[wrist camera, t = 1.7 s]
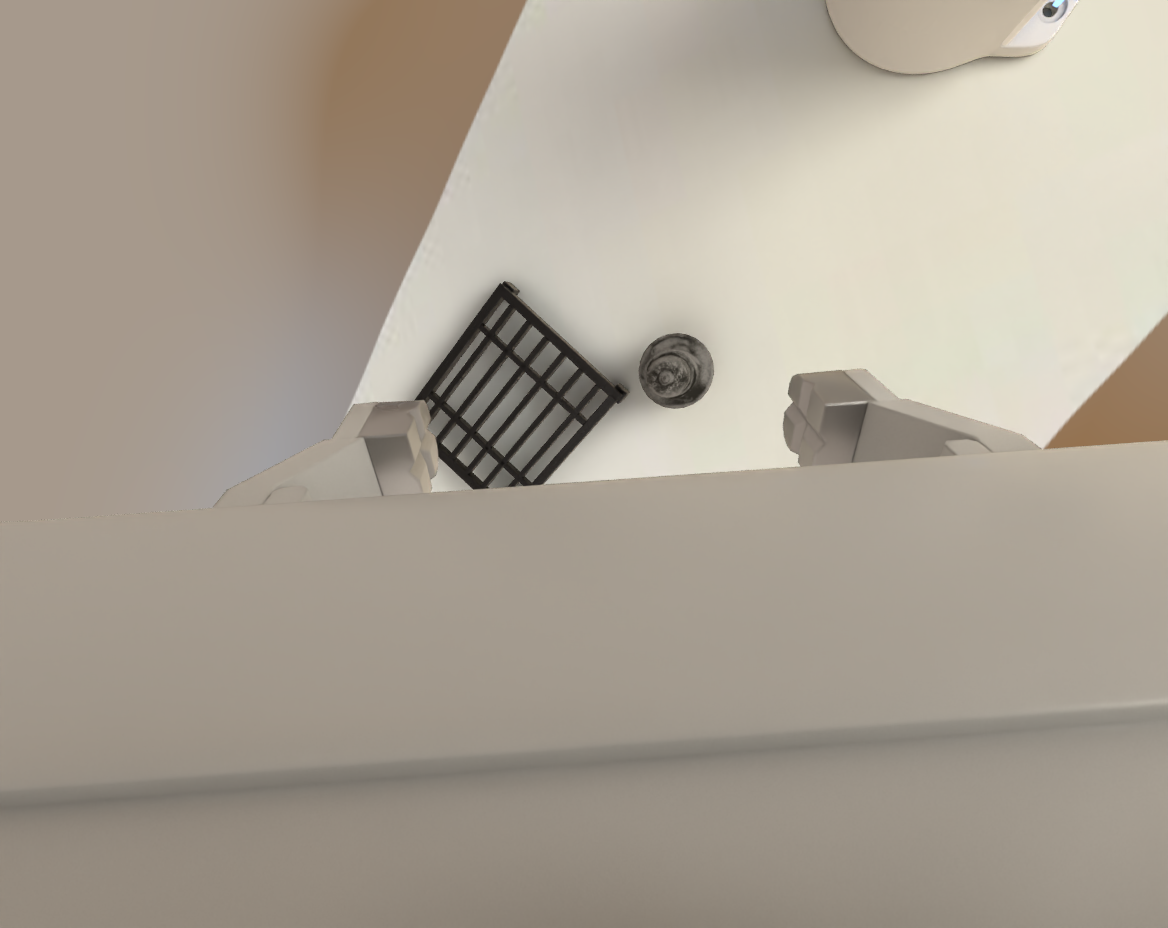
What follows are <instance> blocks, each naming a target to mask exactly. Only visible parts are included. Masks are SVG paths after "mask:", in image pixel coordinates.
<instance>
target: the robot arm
mask: <svg viewBox="0 0 1168 928" xmlns="http://www.w3.org/2000/svg"><path fill="white" fill-rule="evenodd" d="M1078 2H1079V0H826V5H827V9H828V12H829V15H830V18H831V20H832V23H833V25H834V27H835V29H836V31H837V32H838V34H839V36H840V37H841V38H842V40H843V41H844V42H845V44H846V45H847V46H848V47H849V48H850V49H851V50H852V51H853V52H854V53H855V54H857V55H858V56H859V57H860V58H862V59H863V60H865V61H866V62H868V63H870V64H872V65H874V66H876V67H879V68H881V69H884V70H887V71H891V72H896V73H903V74H926V73H933V72H939V71H943V70H947V69H950V68H954V67H957V66H959V65H962V64H965V63H967V62H970V61H973V60H976V59H979V58H983V57H987V56H998V57H1022V56H1029V55H1032V54H1035V53H1037V52H1039V51H1041V50H1042V49H1043V48H1044V47H1045V46H1046V45H1047V44H1048V43H1049V42H1050V41H1051V39H1052V38H1053V37H1054V36H1055V34H1056V33H1057V32H1058V30H1059V29H1060V27H1061V26H1062V24H1063V23H1064V22H1065V20H1066V19H1067V17H1068V16H1069V15H1070V13H1071V12H1072V10H1073V9H1074V7H1075V6H1076V5H1077V3H1078ZM1043 8H1049V9H1051V11H1052V17H1045V16H1044V15H1043V12H1042V11H1043ZM788 395H789V396H790V398H791V400H792V401H793V403H792V404H791V405H790V406H789V407H788V408H787V410H786V411H785V413H784V421H783V431H784V438H785V441H786V444H787V446H788V448H789V449H790V451H792V452H794V453H796V454H798V455H799V458H798V463H799V464H800V466H801V467H787V468H773V469H759V470H745V471H730V472H716V473H702V474H688V475H674V476H659V477H645V478H631V479H617V480H603V481H588V482H574V483H560V484H546V485H532V486H518V487H503V488H489V489H475V490H461V491H447V492H432V493H431V490H432V485H431V481H430V480H431V479H432V478H433V477H435V476H436V473H437V469H438V448H437V443H436V438H435V436H434V435H433V434H432V433H431V432H430V431H429V430H428V429H427V428H428V425H429V423H430V420H431V417H430V413H429V410H428V406H427V404H426V402H425V401H424V400H418V401H398V402H380V403H378V402H372V403H362V404H354V405H353V406H352V407H351V409H350V411H349V412H348V414H347V415H346V417H345V418H344V420H343V421H342V423H341V425H340V426H339V428H338V429H337V431H336V432H335V434H334V435H333V437H332V439H328V440H323V441H321V442H319V443H317V444H315V445H313V446H311V447H309V448H307V449H305V450H303V451H301V452H299V453H297V454H296V455H294V456H292V457H290V458H288V459H286V460H284V461H282V462H280V463H278V464H276V465H275V466H272V467H270V468H268V469H267V470H265V471H263V472H261V473H259V474H257V475H255V476H253V477H251V478H249V479H247V480H245V481H243V482H241V483H240V484H237V485H236V486H234V487H232V488H230V489H228V490H227V491H226V492H225V493H224V494H223V495H222V497H221V498H220V499H219V500H218V501H217V503H216V504H215V505H214V506H213V508H208V509H194V510H179V511H165V512H152V513H137V514H124V515H109V516H95V517H81V518H67V519H53V520H38V521H15V522H0V928H1168V441H1155V442H1140V443H1126V444H1112V445H1097V446H1085V447H1070V448H1056V449H1041V448H1040V447H1038V446H1037V445H1036V444H1034V443H1033V442H1032V441H1030V440H1029V439H1027V438H1026V437H1025V436H1023V435H1022V434H1019V433H1016V432H1012V431H1009V430H1006V429H1003V428H999V427H996V426H993V425H990V424H987V423H983V422H980V421H977V420H974V419H970V418H967V417H964V416H961V415H957V414H954V413H951V412H948V411H944V410H941V409H938V408H935V407H931V406H928V405H925V404H922V403H918V402H915V401H912V400H909V399H899V398H898V397H897V396H896V395H894V394H893V393H892V392H891V391H890V390H889V389H888V388H886V387H885V386H884V385H883V384H882V383H881V382H880V381H878V380H877V379H876V378H875V377H874V376H873V375H872V374H871V373H869V372H868V371H867V370H866V369H852V370H843V371H842V370H836V371H825V372H814V373H803V374H797V375H794V376H793V377H792V379H791V381H790V384H789V390H788Z"/></svg>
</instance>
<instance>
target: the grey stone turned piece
mask: <svg viewBox="0 0 1168 928" xmlns="http://www.w3.org/2000/svg"><path fill="white" fill-rule="evenodd" d="M713 374H714V368H713V361H712V358H711V355H710V353H709V351H708V350H707V348H706V347H705V346H704V344H702V343H701V342H700V341H699V340H697V339H696V338H694V337H691V336H689V335H686V334H679V333H676V334H668V335H665V336H663V337H660V338H658V339H657V340H655V341H654V342H653V343H651V344H650V345H649V347H648V348H647V349H646V350H645V352H644V354H643V356H642V358H641V360H640V366H639V379H640V383H641V385H642V388H643V390H644V391H645V393H646V394H647V396H648V397H649V398H650V399H652V400H653V401H654V402H655V403H657V404H659V405H661V406H663V407H668V408H674V409H675V408H684V407H687V406H690V405H692V404H694V403H696V402H697V401H698V400H700V399H701V398H702V397H703V396H704V395H705V393H706V392H707V391H708V389H709V387H710V385H711V383H712V379H713Z"/></svg>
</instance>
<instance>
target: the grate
mask: <svg viewBox="0 0 1168 928" xmlns="http://www.w3.org/2000/svg"><path fill="white" fill-rule="evenodd" d="M519 292H520V291H519V290H518V289H517V288H516V287H515V286H514V285H513V284H512V283H510V282H506V281H504V282H503V283H502V284H501V283H500V284H499V285H498V287H497V288H496V290H495V291H494V292H493V294H492V295H491V296H490V298H489V299H488V300H487V302H486V303H485V305H484V306H483V307H482V309H481V310H480V311H479V313H478V314H477V315H476V317H475V318H474V320H473V321H472V322H471V324H470V325H469V326H468V328H467V329H466V331H465V332H464V333H463V335H462V336H461V337H460V339H459V340H458V341H457V343H456V344H455V346H454V347H453V348H452V350H451V351H450V352H449V354H448V355H447V356H446V358H445V359H444V361H443V362H442V363H441V365H440V366H439V367H438V369H437V370H436V372H435V373H434V374H433V376H432V377H431V378H430V380H429V381H428V382H427V384H426V385H425V387H424V388H423V389H422V391H421V392H420V393H419V395H418V396H417V397H416V399H415V400H414V401H418V400H424V401H425V402H426V404H427V402H428V401H429V400H430V399H431V400H432V401H433V402H434V403H435V405H434V406H433V407H432V409H431V410H430V411H429V413H430V417H431V420H430V423H431V421H432V420H433V419H434V417H435V416H436V415H437V413H438V412H439V411H440V410H441V409H442V410H443V411H444V412H445V413H446V414H447V415H448V416H449V417H450V418H451V419H450V421H449V422H448V423H447V424H446V426H445V427H444V428H443V430H442V431H441V432H440V434H439V435H438V436H437V437H436V443H437V448H438V457H439V458H440V459H441V460H443V461H444V462H445V463H446V464H447V465H448V466H449V467H450V468H451V469H452V470H453V471H454V472H455V473H456V474H457V475H458V476H460V477H461V478H462V479H463V480H464V481H465V482H466V483H467V484H468V485H469V486H470V487H471V488H472V489H473V490H475V489H489V487H488V486H489V484H490V483H491V482H492V481H493V480H494V479H495V477H496V476H497V475H498V474H499V473H500V471H501V470H502V469H503V468H505V469H506V470H507V471H508V472H509V473H510V474H511V475H512V476H513V477H514V478H515V479H514V480H513V481H512V482H511V483H510V484H509V486H508V487H516V486H517V485H518V484H519V482H520V483H521V484H522V485H523V486H532V485H543V484H544V483H545V482H546V481H547V480H548V479H549V477H550V476H551V475H552V474H553V473H554V472H555V471H556V470H557V468H558V467H559V466H560V465H561V464H562V463H563V462H564V461H565V459H566V458H567V457H568V456H569V455H570V454H571V453H572V452H573V451H574V449H575V448H576V447H577V446H578V445H579V444H580V443H581V442H582V440H583V439H584V438H585V437H586V436H587V435H588V434H589V433H590V431H591V430H592V429H593V428H594V427H595V426H596V425H597V424H598V422H599V421H600V420H601V419H602V418H603V417H604V416H605V415H606V413H607V412H608V411H609V410H610V409H611V408H612V407H613V406H614V405H615V403H617V404H619V403H620V402H622V401H623V399H624V398H625V397H626V396H627V395H628V394H629V393H630V392H629V391H628V390H627V389H626V388H625V387H624V386H623V385H621V384H617V385H616V386H614V385H613V384H612V383H611V382H610V381H609V380H608V379H607V378H606V377H605V376H604V375H602V374H601V373H600V372H599V371H598V370H597V369H596V368H595V367H594V366H593V365H592V364H591V363H589V362H588V361H587V360H586V359H585V358H584V357H583V356H582V355H581V354H580V353H579V352H578V351H576V350H575V349H574V348H573V347H572V346H571V345H570V344H569V343H568V342H567V341H566V340H565V339H563V338H562V337H561V336H560V335H559V334H558V333H557V332H556V331H555V330H554V329H553V328H551V327H550V326H549V325H548V324H547V323H546V322H545V321H544V320H543V319H542V318H541V317H540V316H538V315H537V314H536V313H535V312H534V311H533V310H532V309H531V308H530V307H529V306H528V305H527V304H525V303H524V302H523V301H522V300H521V299H520V298H519V297H518V296H517V295H518V293H519ZM503 300H506V301H507V302H508V303H509V304H510V305H509V306H508V307H507V309H506V310H505V311H504V313H503V314H502V315H501V317H500V318H499V319H498V321H497V322H496V323H495V325H494V326H493V327H492V329H491V330H490V329H489V328H488V327H487V326H486V325H485V324H486V323H487V322H488V320H489V319H490V318H491V316H492V315H493V314H494V312H495V311H496V310H497V308H498V307H499V306H500V304H501V303H502V302H503ZM515 311H517V312H519V313H520V314H521V315H522V316H523V317H524V318H525V319H526V320H527V321H526V322H525V323H524V325H523V326H522V327H521V329H520V330H519V331H518V332H517V334H516V335H515V336H514V338H513V339H512V340H511V342H510V343H509V344H508V345H507V344H506V343H504V342H503V341H502V340H501V339H500V338H499V337H498V336H497V334H498V333H499V332H500V330H501V329H502V328H503V326H504V325H505V324H506V322H507V321H508V320H509V318H510V317H511V316H512V314H513V313H514V312H515ZM532 326H534V327H535V328H536V329H537V330H538V331H539V332H540V333H541V334H542V335H543V336H544V337H543V338H542V339H541V341H540V342H539V343H538V345H537V346H536V347H535V348H534V350H533V351H532V352H531V353H530V355H529V356H528V357H527V358H526V360H525V361H524V360H523V359H522V358H521V357H520V356H519V355H517V354H516V353H515V352H514V351H513V350H514V349H515V348H516V347H517V345H518V344H519V343H520V341H521V340H522V339H523V338H524V336H525V335H526V334H527V332H528V331H529V330H530V329H531V327H532ZM480 331H481V332H482V333H484V334H485V335H486V337H485V338H484V339H483V341H482V342H481V343H480V345H479V346H478V347H477V349H476V350H475V351H474V353H473V354H472V355H471V357H470V358H469V359H468V361H467V362H466V363H465V365H464V366H463V367H462V369H461V370H460V371H459V373H458V374H457V375H456V377H455V378H454V379H453V381H452V382H451V383H450V385H449V386H448V387H447V389H446V390H445V391H444V393H443V394H442V395H441V397H439V396H438V395H437V394H436V393H435V392H436V390H437V389H438V388H439V386H440V385H441V384H442V382H443V381H444V380H445V378H446V377H447V376H448V374H449V373H450V371H451V370H452V369H453V367H454V366H455V365H456V363H457V362H458V361H459V359H460V358H461V357H462V355H463V354H464V353H465V351H466V350H467V349H468V347H469V346H470V345H471V343H472V342H473V341H474V339H475V338H476V336H477V335H478V334H479V332H480ZM491 342H493V343H494V344H495V345H497V346H498V347H499V348H500V349H501V350H502V351H503V352H502V353H501V354H500V356H499V357H498V358H497V360H496V361H495V362H494V364H493V365H492V366H491V367H490V369H489V370H488V371H487V373H486V374H485V375H484V377H483V378H482V379H481V380H480V382H479V383H478V384H477V386H476V387H475V388H474V389H473V391H472V392H471V393H470V395H469V396H468V397H467V399H466V400H465V401H464V402H463V404H462V405H461V406H460V408H459V409H458V410H457V412H455V411H454V410H453V409H452V408H451V407H450V406H449V405H448V404H447V403H446V402H447V400H448V399H449V398H450V396H451V395H452V394H453V392H454V391H455V390H456V388H457V387H458V386H459V384H460V383H461V382H462V380H463V379H464V378H465V377H466V375H467V374H468V373H469V371H470V370H471V369H472V367H473V366H474V365H475V363H476V362H477V361H478V359H479V358H480V357H481V355H482V354H483V353H484V351H485V350H486V349H487V347H488V346H489V345H490V344H491ZM549 342H551V343H552V344H553V345H554V346H555V347H556V348H558V349H559V350H560V351H561V353H560V354H559V356H558V357H557V358H556V359H555V361H554V362H553V363H552V364H551V365H550V367H549V368H548V369H547V370H546V372H545V373H544V374H543V375H542V376H540V375H539V374H538V373H537V372H536V371H535V370H534V369H533V368H531V367H530V365H531V364H532V363H533V362H534V360H535V359H536V358H537V357H538V355H539V354H540V353H541V352H542V350H543V349H544V348H545V347H546V345H547V344H548V343H549ZM508 357H509V358H511V359H512V360H513V361H514V362H515V363H516V364H517V365H518V366H519V368H518V370H517V371H516V372H515V373H514V375H513V376H512V377H511V379H510V380H509V381H508V382H507V384H506V385H505V386H504V387H503V389H502V390H501V391H500V392H499V394H498V395H497V396H496V397H495V399H494V400H493V401H492V402H491V404H490V405H489V406H488V408H487V409H486V410H485V411H484V413H483V414H482V415H481V416H480V418H479V419H478V420H477V421H476V423H475V424H474V425H473V426H470V425H469V424H468V423H467V422H466V421H465V420H464V419H463V418H462V416H463V415H464V413H465V412H466V411H467V410H468V408H469V407H470V406H471V404H472V403H473V402H474V401H475V399H476V398H477V397H478V395H479V394H480V393H481V392H482V390H483V389H484V388H485V386H486V385H487V384H488V383H489V381H490V380H491V379H492V377H493V376H494V375H495V374H496V372H497V371H498V370H499V368H500V367H501V366H502V365H503V363H504V362H505V361H506V359H507V358H508ZM566 358H568V359H569V360H571V361H572V362H573V363H574V364H575V365H576V366H577V367H578V370H577V371H576V372H575V373H574V374H573V375H572V377H571V378H570V379H569V380H568V381H567V383H566V384H565V385H564V386H563V387H562V389H561V390H560V391H559V392H557V391H556V390H555V389H554V388H553V387H552V386H551V385H550V384H549V383H548V382H547V381H548V379H549V378H550V377H551V376H552V375H553V373H554V372H555V371H556V370H557V368H558V367H559V366H560V365H561V364H562V362H563V361H564V360H565V359H566ZM525 372H526V373H527V374H528V375H529V376H530V377H531V378H532V379H533V380H534V381H535V382H536V384H535V385H534V386H533V387H532V389H531V390H530V391H529V392H528V394H527V395H526V396H525V397H524V399H523V400H522V401H521V402H520V403H519V405H518V406H517V407H516V408H515V410H514V411H513V412H512V413H511V414H510V416H509V417H508V418H507V419H506V421H505V422H504V423H503V424H502V425H501V427H500V428H499V429H498V430H497V432H496V433H495V434H494V435H493V437H492V438H491V439H490V440H489V441H486V440H485V439H484V438H483V437H482V436H481V435H480V434H479V433H478V430H479V429H480V428H481V427H482V425H483V424H484V423H485V422H486V420H487V419H488V418H489V417H490V415H491V414H492V413H493V412H494V410H495V409H496V408H497V407H498V405H499V404H500V403H501V402H502V400H503V399H504V398H505V397H506V395H507V394H508V393H509V392H510V390H511V389H512V388H513V387H514V385H515V384H516V383H517V382H518V380H519V379H520V378H521V377H522V375H523V374H524V373H525ZM583 373H585V374H586V375H587V376H588V377H589V378H590V379H591V380H592V381H593V382H594V383H596V385H595V386H594V387H593V388H592V389H591V391H590V392H589V393H588V394H587V395H586V396H585V398H584V399H583V400H582V401H581V402H580V403H579V404H578V406H577V407H576V408H575V407H574V406H572V405H571V404H570V403H569V402H568V401H567V400H566V399H565V398H564V396H565V395H566V393H567V392H568V391H569V390H570V389H571V388H572V386H573V385H574V384H575V383H576V382H577V380H578V379H579V378H580V377H581V376H582V375H583ZM541 388H543V389H544V390H545V391H546V392H547V393H548V394H549V395H550V396H552V397H553V399H552V401H551V402H550V403H549V404H548V405H547V406H546V408H545V409H544V410H543V411H542V412H541V414H540V415H539V416H538V417H537V418H536V420H535V421H534V422H533V423H532V424H531V426H530V427H529V428H528V429H527V430H526V431H525V433H524V434H523V435H522V436H521V437H520V439H519V440H518V441H517V442H516V443H515V445H514V446H513V447H512V448H511V449H510V451H509V452H508V453H507V454H506V455H505V457H504V456H503V455H501V454H500V453H499V452H498V451H497V450H496V449H495V448H494V447H493V446H494V445H495V444H496V443H497V441H498V440H499V439H500V438H501V436H502V435H503V434H504V433H505V432H506V430H507V429H508V428H509V427H510V426H511V424H512V423H513V422H514V421H515V419H516V418H517V417H518V416H519V415H520V413H521V412H522V411H523V410H524V409H525V407H526V406H527V405H528V404H529V402H530V401H531V400H532V399H533V398H534V396H535V395H536V394H537V393H538V392H539V390H540V389H541ZM600 389H602V390H603V391H604V392H605V393H606V394H607V395H609V396H608V397H607V398H606V399H605V401H604V402H603V403H602V404H601V405H600V406H599V407H598V409H597V410H596V411H595V412H594V413H593V414H592V415H591V416H590V418H589V419H587V418H585V417H584V416H583V415H582V414H581V413H580V412H581V411H582V410H583V409H584V408H585V407H586V405H587V404H588V403H589V402H590V401H591V400H592V399H593V397H594V396H595V395H596V394H597V393H598V392H599V390H600ZM558 403H559V404H560V405H561V406H562V407H563V408H564V409H566V410H567V411H568V412H569V413H570V415H569V416H568V417H567V418H566V420H565V421H564V422H563V423H562V424H561V425H560V426H559V428H558V429H557V430H556V431H555V432H554V433H553V435H552V436H551V437H550V438H549V439H548V440H547V442H546V443H545V444H544V445H543V446H542V447H541V449H540V450H539V451H538V452H537V453H536V454H535V455H534V457H533V458H532V459H531V460H530V461H529V462H528V464H527V465H526V466H525V467H524V468H523V469H522V471H521V472H520V471H519V470H518V469H516V468H515V467H514V466H513V465H512V464H511V463H510V462H509V461H510V460H511V458H512V457H513V456H514V455H515V454H516V453H517V451H518V450H519V449H520V448H521V447H522V445H523V444H524V443H525V442H526V441H527V440H528V438H529V437H530V436H531V435H532V434H533V432H534V431H535V430H536V429H537V428H538V427H539V425H540V424H541V423H542V422H543V421H544V419H545V418H546V417H547V416H548V415H549V414H550V412H551V411H552V410H553V409H554V408H555V406H556V405H557V404H558ZM574 419H576V420H577V421H579V422H580V423H581V424H582V425H583V426H582V427H581V428H580V429H579V430H578V431H577V432H576V433H575V435H574V436H573V437H572V438H571V439H570V440H569V441H568V443H567V444H566V445H565V446H564V447H563V448H562V449H561V451H560V452H559V453H558V454H557V455H556V456H555V457H554V458H553V460H552V461H551V462H550V463H549V464H548V465H547V466H546V468H545V469H544V470H543V471H542V472H541V473H540V474H539V475H538V477H537V478H536V479H535V480H534V481H533V482H532V483H531V482H530V481H529V480H528V479H527V478H526V477H525V476H526V474H527V473H528V472H529V471H530V470H531V469H532V467H533V466H534V465H535V464H536V463H537V462H538V461H539V459H540V458H541V457H542V456H543V455H544V454H545V453H546V451H547V450H548V449H549V448H550V447H551V446H552V444H553V443H554V442H555V441H556V440H557V439H558V438H559V436H560V435H561V434H562V433H563V432H564V431H565V430H566V428H567V427H568V426H569V425H570V424H571V423H572V421H573V420H574ZM430 423H429V424H430ZM456 424H458V425H459V426H460V427H461V428H462V429H463V430H464V431H465V432H466V433H467V434H466V435H465V437H464V438H463V439H462V440H461V442H460V443H459V444H458V445H457V447H456V448H455V449H454V450H453V452H452V453H451V452H450V451H449V450H448V449H447V448H446V447H445V446H444V445H443V444H442V442H443V440H444V439H445V438H446V436H447V435H448V434H449V433H450V431H451V430H452V429H453V427H454V426H455V425H456ZM472 438H473V439H474V440H475V441H476V442H477V443H478V444H479V445H480V446H481V447H482V448H483V449H482V450H481V451H480V452H479V454H478V455H477V456H476V457H475V459H474V460H473V461H472V462H471V463H470V465H469V466H468V467H466V466H465V465H464V464H463V463H462V462H461V461H460V460H459V459H458V458H457V457H458V455H459V454H460V453H461V452H462V450H463V449H464V448H465V447H466V445H467V444H468V443H469V442H470V440H471V439H472ZM487 453H489V454H490V455H491V456H492V457H493V458H494V459H495V460H496V461H497V462H498V463H499V464H498V465H497V466H496V467H495V468H494V470H493V471H492V472H491V473H490V474H489V476H488V477H487V478H486V479H485V480H484V482H482V481H481V480H480V479H479V478H478V477H477V476H476V475H475V474H474V473H473V470H474V469H475V468H476V467H477V466H478V464H479V463H480V462H481V461H482V460H483V458H484V457H485V456H486V455H487Z"/></svg>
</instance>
